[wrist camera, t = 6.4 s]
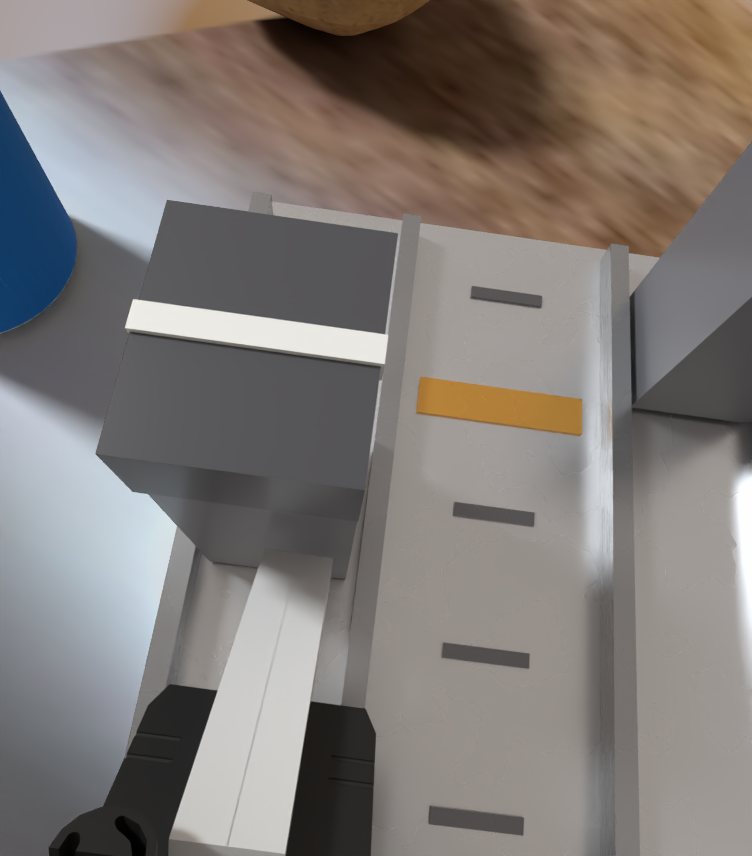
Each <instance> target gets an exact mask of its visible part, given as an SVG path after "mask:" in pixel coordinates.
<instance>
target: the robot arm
mask: <svg viewBox="0 0 752 856" xmlns="http://www.w3.org/2000/svg"><path fill="white" fill-rule="evenodd" d="M332 563H333V558H328V557H321V556H314V555H307V554H300V553H293V552H285V551H278V550H271V549H264V552H263V555H262V558H261V561H260V564H259V567H258V570H257V573H256V576H255V579H254V582H253V585H252V588H251V591H250V594H249V598H248V601H247V604H246V607H245V610H244V613H243V616H242V619H241V622H240V625H239V628H238V631H237V634H236V637H235V640H234V643H233V646H232V649H231V652H230V655H229V658H228V661H227V664H226V667H225V670H224V673H223V676H222V679H221V682H220V685H219V688H218V690H210V689H203V688H196V687H188V686H181V685H173V684H169V685H168V686H167V687H166V688H165V689H164V690H163V691H162V692H161V693H160V694H159V695H158V696H157V697H156V698H155V699H154V700H153V701H152V702H151V703H150V704H149V705H148V706H147V709H146V711H145V713H144V715H143V718H142V720H141V722H140V724H139V727H138V729H137V732H136V736H134V738H133V740H132V742H131V745H130V747H129V749H128V752H127V756H126V758H124V761H123V763H122V765H121V767H120V770H119V772H118V774H117V776H116V779H115V781H114V783H113V785H112V788H111V790H110V792H109V794H108V797H107V799H106V801H105V803H104V806H103V807H100V808H98V809H95V810H92V811H90V812H87V813H84V814H82V815H80V816H78V817H77V818H76V819H75V820H73V821H72V822H71V823H69V824H68V825H67V826H65V827H64V828H63V829H62V830H61V831H60V833H59V834H58V835H57V837H56V838H55V840H54V841H53V842H52V844H51V845H50V846H49V856H371V839H372V817H373V794H374V789H373V787H374V771H375V766H374V764H375V749H376V732H375V730H374V727H373V725H372V723H371V720H370V718H369V715H368V713H367V711H366V709H365V708H357V707H350V706H342V705H335V704H328V703H320V702H313V694H314V688H315V682H316V675H317V669H318V663H319V656H320V649H321V642H322V635H323V628H324V621H325V613H326V606H327V599H328V592H329V585H330V578H331V570H332Z"/></svg>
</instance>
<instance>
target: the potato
mask: <svg viewBox="0 0 752 856" xmlns="http://www.w3.org/2000/svg"><path fill="white" fill-rule="evenodd" d="M248 1H250V2H253V3H255V4H257V5H260V6H262V7H264V8H266V9H269V10H271V11H273V12H276V13H278V14H280V15H282V16H285V17H287V18H289V19H292V20H294V21H296V22H299V23H301V24H304V25H306V26H309V27H311V28H314V29H317V30H320V31H324V32H327V33H331V34H335V35H338V36H348V35H357V34H361V33H364V32H367V31H371V30H374V29H377V28H380V27H383V26H386V25H389V24H392V23H394V22H396V21H398V20H400V19H402V18H404V17H405V16H407V15H409V14H411V13H412V12H414V11H415V10H417V9H418V8H420V7H421V6H423V5H424V4H426V3H427V2H429V1H430V0H248Z"/></svg>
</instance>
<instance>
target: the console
mask: <svg viewBox="0 0 752 856" xmlns="http://www.w3.org/2000/svg"><path fill="white" fill-rule="evenodd" d="M249 212H254V213H261V214H268V215H275V216H282V217H289V218H296V219H303V220H310V221H317V222H324V223H330V224H337V225H344V226H351V227H358V228H365V229H372V230H379V231H386V232H393V233H398V237H397V245H396V253H395V261H394V269H393V276H392V284H391V292H390V300H389V307H388V315H387V323H386V331H385V334H386V335H388V342H387V350H386V358H385V365H384V371H383V376H382V381H380V380H379V385H378V393H377V401H376V409H375V416H374V424H373V432H372V440H371V448H370V455H369V463H368V471H367V479H366V486H365V493H364V497H363V502H362V507H361V511H360V516H359V521H358V522H357V526H356V531H355V536H354V540H353V545H352V550H351V555H350V560H349V565H348V569H347V574H346V579H341V578H333V577H331V578H330V585H329V592H328V599H327V606H326V613H325V621H324V628H323V635H322V642H321V649H320V656H319V663H318V669H317V675H316V682H315V688H314V694H313V702H320V703H328V704H335V705H342V706H350V707H357V708H365V709H366V711H367V713H368V715H369V718H370V720H371V723H372V725H373V727H374V730H375V732H376V749H375V764H374V766H375V771H374V787H373V789H374V794H373V817H372V839H371V856H752V421H751V422H749V423H740V422H733V421H726V420H719V419H711V418H704V417H697V416H690V415H683V414H675V413H668V412H661V411H654V410H647V409H639V408H632V402H631V349H630V296H631V294H632V293H633V292H634V290H635V289H636V288H637V287H638V285H639V284H640V283H641V282H642V280H643V279H644V278H645V277H646V275H647V274H648V273H649V271H650V270H651V269H652V268H653V266H654V265H655V264H656V263H657V261H658V260H659V259H660V258H658V257H651V256H644V255H637V254H630V253H629V246H624V245H617V244H610V246H609V247H608V249H607V250H603V249H596V248H589V247H582V246H575V245H568V244H561V243H554V242H547V241H541V240H534V239H527V238H520V237H513V236H506V235H499V234H492V233H485V232H478V231H471V230H465V229H458V228H451V227H444V226H437V225H430V224H423V223H421V216H417V215H410V214H403V219H402V220H395V219H388V218H382V217H375V216H368V215H361V214H354V213H347V212H340V211H333V210H326V209H319V208H312V207H306V206H299V205H292V204H285V203H278V202H272V196H271V194H265V193H258V192H253V195H252V199H251V203H250V208H249ZM257 570H258V568H257V567H249V566H242V565H234V564H226V563H219V562H211V561H209V560H208V559H207V558H206V557H205V556H204V555H203V553H202V552H201V551H200V550H199V549H198V548H197V547H196V546H195V545H194V544H193V543H192V541H191V540H190V539H189V538H188V537H187V536H186V535H185V534H184V533H183V532H182V530H181V529H180V528H179V527H178V526H177V529H176V534H175V538H174V542H173V547H172V551H171V556H170V560H169V564H168V569H167V573H166V578H165V582H164V586H163V591H162V595H161V600H160V604H159V608H158V613H157V617H156V622H155V626H154V630H153V635H152V639H151V644H150V648H149V652H148V657H147V661H146V666H145V670H144V674H143V679H142V683H141V688H140V692H139V696H138V701H137V705H136V710H135V714H134V718H133V723H132V727H131V732H130V736H129V740H128V745H127V749H126V754H125V758H126V756H127V752H128V749H129V747H130V745H131V742H132V740H133V738H134V736H136V732H137V729H138V727H139V724H140V722H141V720H142V718H143V715H144V713H145V711H146V709H147V706H148V705H149V704H150V703H151V702H152V701H153V700H154V699H155V698H156V697H157V696H158V695H159V694H160V693H161V692H162V691H163V690H164V689H165V688H166V687H167V686H168V685H169V684H173V685H181V686H188V687H196V688H203V689H210V690H218V688H219V685H220V682H221V679H222V676H223V673H224V670H225V667H226V664H227V661H228V658H229V655H230V652H231V649H232V646H233V643H234V640H235V637H236V634H237V631H238V628H239V625H240V622H241V619H242V616H243V613H244V610H245V607H246V604H247V601H248V598H249V594H250V591H251V588H252V585H253V582H254V579H255V576H256V573H257Z"/></svg>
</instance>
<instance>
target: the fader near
mask: <svg viewBox="0 0 752 856" xmlns="http://www.w3.org/2000/svg"><path fill="white" fill-rule="evenodd" d="M397 237H398V233H393V232H386V231H379V230H372V229H365V228H358V227H351V226H344V225H337V224H330V223H324V222H317V221H310V220H303V219H296V218H289V217H282V216H275V215H268V214H261V213H254V212H247V211H240V210H233V209H226V208H220V207H213V206H206V205H199V204H192V203H185V202H178V201H171V200H167V202H166V206H165V209H164V213H163V216H162V220H161V223H160V227H159V230H158V234H157V237H156V241H155V244H154V248H153V252H152V255H151V259H150V262H149V266H148V269H147V273H146V276H145V280H144V283H143V287H142V291H141V294H140V298H139V300H136V299H133V301H132V304H131V308H130V311H129V315H128V318H127V322H126V325H125V329H126V331H127V333H128V335H129V337H128V340H127V344H126V347H125V351H124V354H123V358H122V361H121V365H120V369H119V372H118V376H117V379H116V383H115V386H114V390H113V393H112V397H111V400H110V404H109V407H108V411H107V415H106V418H105V422H104V425H103V429H102V432H101V436H100V439H99V443H98V446H97V450H96V455H97V456H98V457H99V458H100V459H101V460H102V461H103V462H104V463H105V464H106V465H107V466H108V467H109V468H110V469H111V470H112V471H113V472H114V473H115V474H116V475H117V476H118V477H119V478H120V479H121V480H122V481H123V482H124V483H125V484H126V485H127V486H128V487H129V488H130V490H131V491H132V492H138V493H145V494H149V495H150V497H151V498H152V499H153V500H154V501H155V502H156V503H157V504H158V505H159V506H160V508H161V509H162V510H163V511H164V512H165V513H166V514H167V515H168V516H169V517H170V518H171V520H172V521H173V522H174V523H175V524H176V525H177V526H178V527H179V528H180V529H181V530H182V532H183V533H184V534H185V535H186V536H187V537H188V538H189V539H190V540H191V541H192V543H193V544H194V545H195V546H196V547H197V548H198V549H199V550H200V551H201V552H202V553H203V555H204V556H205V557H206V558H207V559H208V560H209V561H211V562H219V563H226V564H234V565H242V566H249V567H257V568H258V567H259V564H260V561H261V558H262V555H263V552H264V549H271V550H278V551H285V552H293V553H300V554H307V555H314V556H321V557H328V558H333V563H332V570H331V577H333V578H341V579H346V574H347V569H348V565H349V560H350V555H351V550H352V545H353V540H354V536H355V531H356V526H357V522H358V521H359V516H360V511H361V507H362V502H363V497H364V493H365V486H366V479H367V471H368V463H369V455H370V448H371V440H372V432H373V424H374V416H375V409H376V401H377V393H378V385H379V380H380V381H382V376H383V371H384V365H385V358H386V350H387V342H388V335H386V334H385V331H386V323H387V315H388V307H389V300H390V292H391V284H392V276H393V269H394V261H395V253H396V245H397Z"/></svg>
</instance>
